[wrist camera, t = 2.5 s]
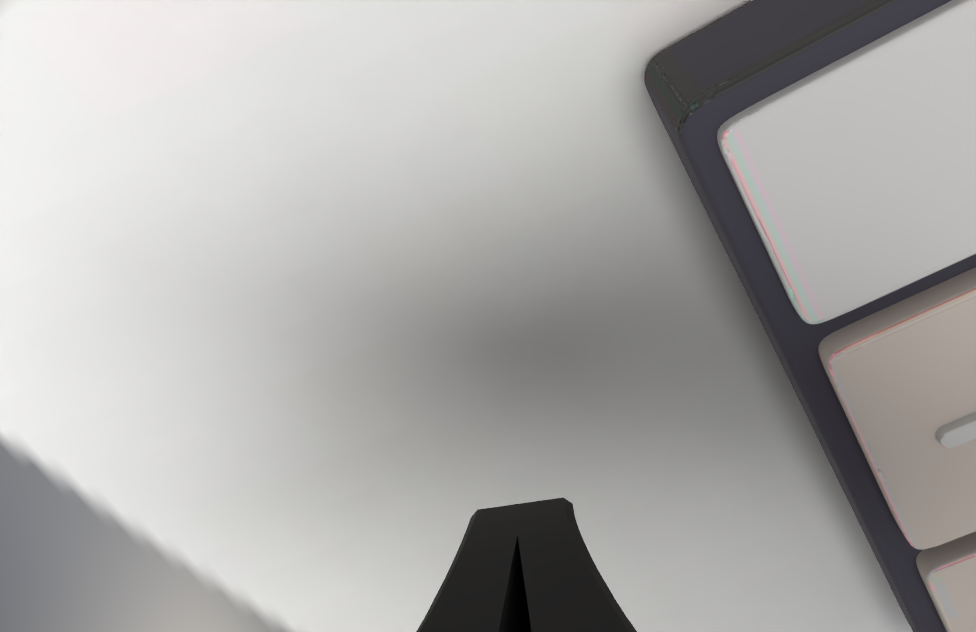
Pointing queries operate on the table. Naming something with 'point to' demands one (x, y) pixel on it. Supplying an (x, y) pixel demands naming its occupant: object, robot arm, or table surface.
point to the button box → (855, 249)
